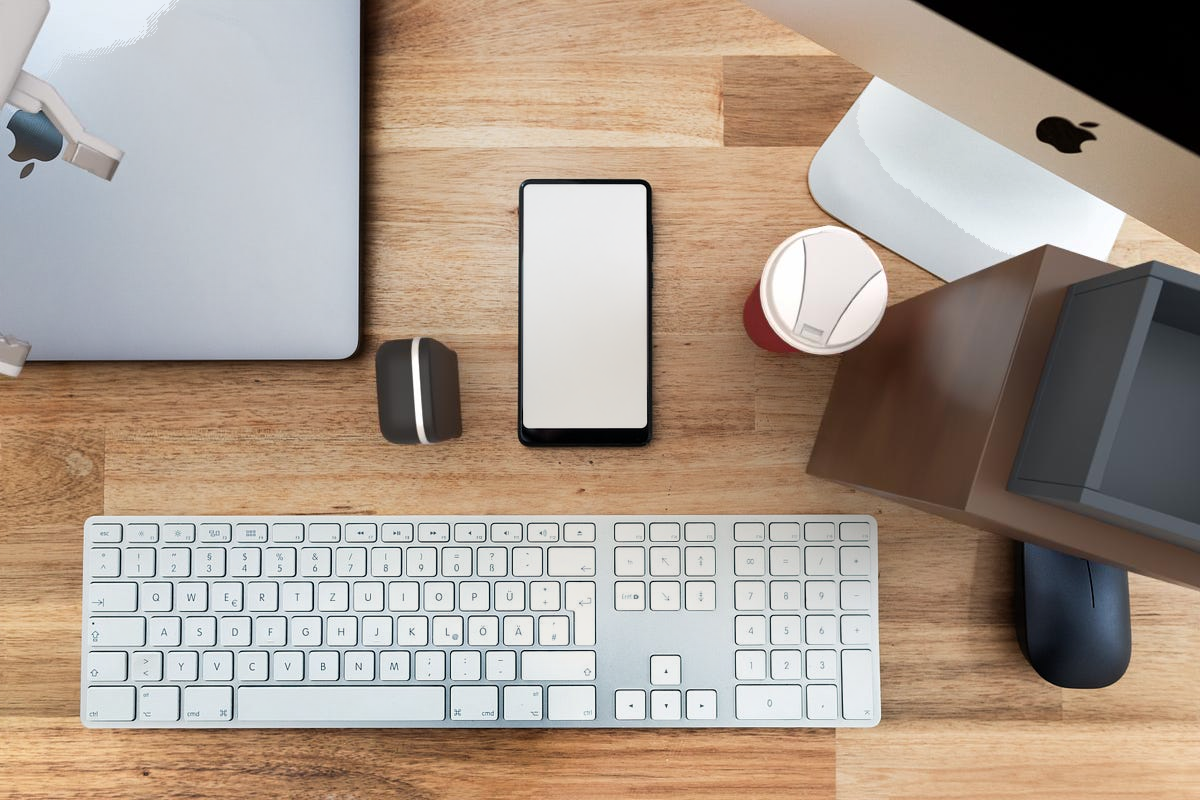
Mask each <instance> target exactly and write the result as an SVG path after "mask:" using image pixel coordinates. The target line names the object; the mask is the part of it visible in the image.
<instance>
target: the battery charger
mask: <svg viewBox="0 0 1200 800" xmlns="http://www.w3.org/2000/svg"><path fill="white" fill-rule="evenodd" d="M458 363H459V361H458V353H457V351H455V350H453V349H451V348H449V347H448V346H446V345H445V344H444V343H442V342H440V341H439V340H437V339H435V338H432V337H430V336H429V337H428V336H423V335H422V336H415V337H413V338H399V339H391V340H387V341H385V342H383V343H381V344H380V345H379V347H377V350H376V352H375V356H374V369H375V384H376V398H377V414H378V426H379V431H380V433H381V435H382V437H383V439H385V441H387V442H389V443H391V444H394V445H405V446H409V445H421V444H422V445H438V444H442V443H443V442H447V441H453V440H455V439H460V438H461V437H462V436H463V421H462V420H463V419H462V407H461V392H460V377H459V364H458Z"/></svg>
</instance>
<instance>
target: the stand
mask: <svg viewBox="0 0 1200 800" xmlns="http://www.w3.org/2000/svg"><path fill="white" fill-rule="evenodd" d="M1125 268H1126V267H1125ZM1125 268H1124V267H1122V266H1118V265H1116V264H1113V263H1109V262H1107V261H1103V260H1100V259H1097V258H1093V257H1091V256H1087V255H1084V254H1082V253H1078V252H1075V251H1071V250H1069V249H1065V248H1063V247H1060V246H1056V245H1053V244H1050V243H1045V244H1043V245H1040V246H1038V247H1036V248H1033V249H1030V250H1028V251H1025V252H1022V253H1021V254H1017V255H1015V256H1013V257H1009V258H1008V259H1005V260H1003V261H1000V262H998V263H995V264H992V265H990V266H988V267H985V268H981V269H980V270H977V271H974V272H972V273H970V274H968V275H965V276H962V277H960V278H957V279H954V280H953V281H950V282H947V283H945V284H942V285H940V286H938V287H935V288H932V289H930V290H927V291H925V292H922V293H920V294H917V295H914V296H912V297H909V298H907V299H905V300H902V301H900V302H897V303H895V304H894V303H893V304H892V305H889V306H886V307H885V311H884V314H883V316H882V318H881V320H880V322H879V324H878V326H877V327H876V328H875V330H874V331H873V332H872V333H871V334H870V335H869V336H868V338H867V339H865V340H864V341H863V342H861V343H860V344H859V345H857V346H855V347H853V348H851V349H849V350H846V351H843V352H842V355H841V357H840V361H839V364H838V368H837V371H836V374H835V377H834V380H833V383H832V386H831V389H830V393H829V395H828V396H829V397H828V400H827V403H826V405H825V409H824V412H823V415H822V418H821V421H820V425H819V428H818V430H817V434H816V437H815V441H814V443H813V446H812V450H811V453H810V456H809V459H808V462H807V465H806V469H805V474H807V475H809V476H813V477H816V478H819V479H822V480H825V481H828V482H831V483H834V484H837V485H840V486H844V487H846V488H850V489H853V490H856V491H859V492H863V493H864V494H865V493H866V494H868V495H871V496H875V497H878V498H881V499H884V500H887V501H889V502H890V501H891V502H893V503H896V504H899V505H903V506H906V507H908V508H912V509H914V510H918V511H920V512H924V513H927V514H931V515H934V516H937V517H939V518H943V519H946V520H949V521H952V522H954V523H958V524H961V525H965V526H967V527H970V528H973V529H976V530H980V531H984V532H986V533H990V534H994V535H997V536H1001V537H1004V538H1008V539H1012V540H1015V541H1018V542H1021V543H1024V544H1029V545H1033V546H1036V547H1040V548H1043V549H1047V550H1051V551H1054V552H1058V553H1060V554H1061V553H1062V554H1065V555H1068V556H1072V557H1075V558H1079V559H1082V560H1086V561H1090V562H1094V563H1097V564H1100V565H1104V566H1108V567H1110V568H1114V569H1117V570H1121V571H1126V572H1129V573H1133V574H1134V575H1135V574H1136V575H1139V576H1142V577H1147V578H1150V579H1154V580H1157V581H1160V582H1165V583H1168V584H1171V585H1175V586H1178V587H1182V588H1186V589H1189V590H1192V591H1196V592H1199V593H1200V553H1197V552H1194V551H1191V550H1188V549H1185V548H1182V547H1178V546H1175V545H1172V544H1169V543H1166V542H1163V541H1160V540H1157V539H1154V538H1151V537H1147V536H1144V535H1141V534H1138V533H1135V532H1132V531H1129V530H1126V529H1123V528H1120V527H1116V526H1113V525H1110V524H1107V523H1104V522H1101V521H1098V520H1095V519H1092V518H1089V517H1085V516H1082V515H1079V514H1076V513H1073V512H1070V511H1067V510H1064V509H1061V508H1057V507H1054V506H1051V505H1048V504H1045V503H1042V502H1039V501H1036V500H1033V499H1030V498H1026V497H1023V496H1020V495H1017V494H1014V493H1011V492H1008V491H1006V488H1007V485H1008V482H1009V479H1010V475H1011V472H1012V469H1013V466H1014V462H1015V459H1016V456H1017V453H1018V449H1019V446H1020V443H1021V440H1022V437H1023V433H1024V430H1025V427H1026V424H1027V420H1028V417H1029V414H1030V411H1031V407H1032V404H1033V401H1034V398H1035V395H1036V391H1037V388H1038V385H1039V382H1040V378H1041V375H1042V372H1043V369H1044V365H1045V362H1046V359H1047V356H1048V353H1049V349H1050V346H1051V343H1052V340H1053V336H1054V333H1055V330H1056V327H1057V323H1058V320H1059V317H1060V314H1061V311H1062V307H1063V304H1064V301H1065V298H1066V294H1067V291H1068V288H1069V285H1070V284H1073V283H1078V282H1080V281H1084V280H1087V279H1090V278H1094V277H1097V276H1101V275H1104V274H1108V273H1111V272H1114V271H1118V270H1121V269H1125Z"/></svg>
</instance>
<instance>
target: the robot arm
mask: <svg viewBox="0 0 1200 800" xmlns="http://www.w3.org/2000/svg"><path fill="white" fill-rule="evenodd" d="M50 11H51V2H50V0H0V114H1V113H2V111H3V109H4V106H5V104H8V105H10V106H12V107H15V108H16V109H19V110H21V111H23V112H25V113H29V114H33V115H35V114H38V113H39V112H40V111H42V112H43V114H45V116H46V117H47V118H48V119H49V121H50V122H51V123H52V125H53V126H54V127H55V128H56V130H58V132H59V133H60V135H61V136H62V137H63V138H64V139H65V141H66V142H67V146H66V148H65V150H64V152H63V154H62V157H61V160H63V161H65V162H67V163H68V164H71V165H73V166H75V167H77V168H80V169H81V170H85V171H86V172H88V173H90V174H92V175H94V176H96V177H98V178H101V179H103V180H105V181H107V182H112V180H113V178H114V176H115V174H116V172H117V170H118V168H119V166H120V163H121V161H122V159H123V157H124V155H125V153H126V152H125V151H123V150H121V149H120V148H118V147H117V146H114V145H112V144H110V143H108V142H107V141H105V140H103V139H100V138H98V137H97V136H95V135H93V134H90V133H89V132H86V131H85V129H86V128H85V126H84V125H83V124H82V122H81V120H79V118H78V117H77V116H76V115H75V113H74V112H73V110H72V109H71V108H70V106H69V105H68V104H67V103H66V101H65V100H64V99H63V98H62V96H61V95H60V93H59V92H58V91H57V89H56V88H55V87H54V86H53V85H52V84H50V83H48V82H47V81H44V79H41V78H39V77H38V76H35V75H33V74H31V73H30V72H28V71H27V70H24V69H23V67H24V65H25V63H26V61H27V58H28V57H29V55H30V52H31V50H32V49H33V46H34V44H35V42H36V40H37V38H38V36H39V34H40V32H41V30H42V27H43V25H44V24H45V21H46V20H47V17H48V15H49V13H50ZM31 350H32V344H30V342H29V341H28V340H26V339H24V338H22V337H19V336H17V335H15V334H14V335H13V334H11V333H9V334H5V335H3V334H2V332H0V374H2V375H5V376H8V377H15V378H18V377H19V375H20V374H21V373H22V370H23V368H24V365H25V363H26V361H27V358H28V356H29V354H30V352H31Z"/></svg>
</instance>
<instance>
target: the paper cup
mask: <svg viewBox="0 0 1200 800" xmlns="http://www.w3.org/2000/svg"><path fill="white" fill-rule="evenodd" d="M887 301H888V281H887V275H886V272H885V269H884V267H883V265H882V263H881V260H880V259H879V257H878V255H877V254H876V253H875V252H874V250H873V249H872V248H871V246H869V245H868V244H867V243H866V242H865V241H864V240H863V239H862V238H861V237H860V235H858V234H857V233H855V232H853V231H851V230H849V229H848V228H847V229H846V228H845V227H841V226H836V225H828V224H827V225H823V226H819V227H813V228H808V229H805V230H802V231H799V232H797V233H795V234H793V235H791V236H789V237H787V238H786V239H785V240H784V241H781V243H780V244H779V245H778V246H777V247H776V248H775V249H774V250H773V252H772V253H771V255H770V256H769V257H768V259H767V261H766V263H765V265H764V267H763V270H762V275H761V276H760V278H759V279H758V281H757V282H756V284H755V285H754V286H753V288H752V290H751V291H750V292H749V294H748V296H747V298H746V300H745V303H744V306H743V309H742V322H743V326H744V330H745V332H746V334H747V336H748V337H749V339H750V340H751V341H752V342H753V343H754V344H755V345H756V346H757V347H759V348H760V349H762V350H764V351H766V352H768V353H773V354H798V353H809V354H813V355H814V354H815V355H835V354H840V353H843V351H846V350H849V349H851V348H853V347H855V346H857V345H859V344H860V343H861V342H863V341H864V340H865V339H867V338H868V336H869V335H870V334H871V333H872V332H873V331H874V330H875V328H876V327H877V326H878V324H879V322H880V320H881V318H882V316H883V314H884V311H885V308H887V303H888V302H887Z"/></svg>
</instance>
